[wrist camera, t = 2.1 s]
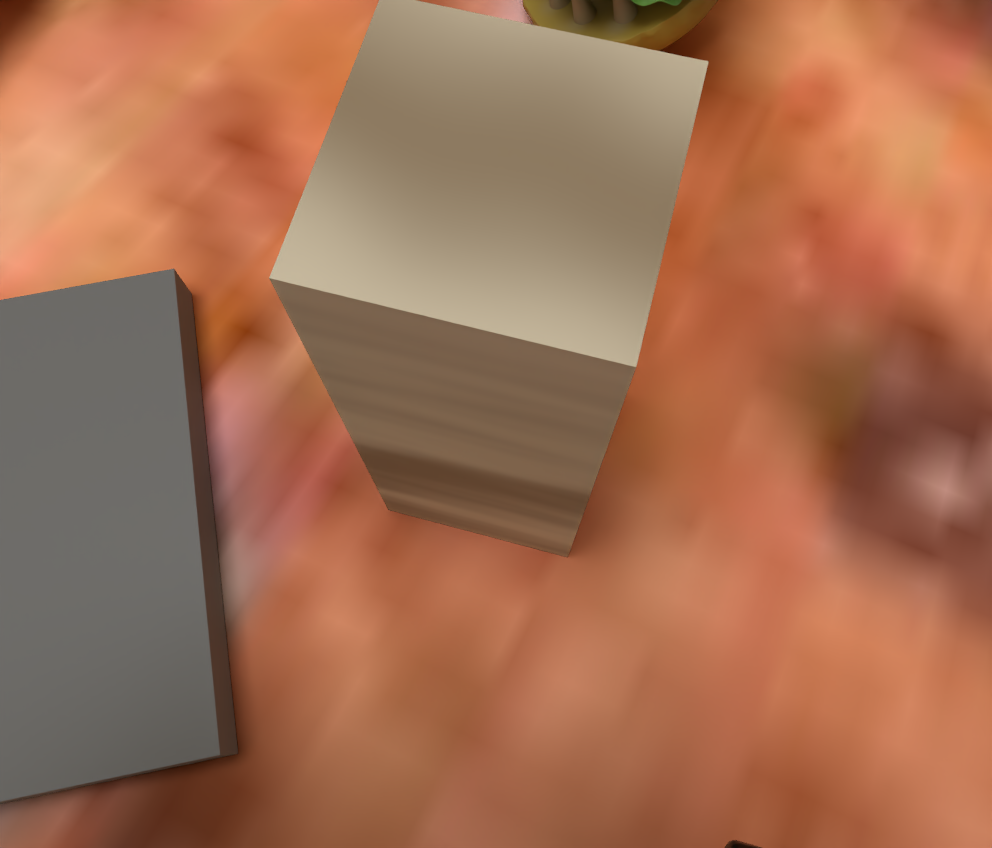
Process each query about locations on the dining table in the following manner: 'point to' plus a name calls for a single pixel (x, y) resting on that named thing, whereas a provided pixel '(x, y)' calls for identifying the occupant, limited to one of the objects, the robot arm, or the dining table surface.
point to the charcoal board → (106, 541)
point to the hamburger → (621, 19)
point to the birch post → (487, 258)
